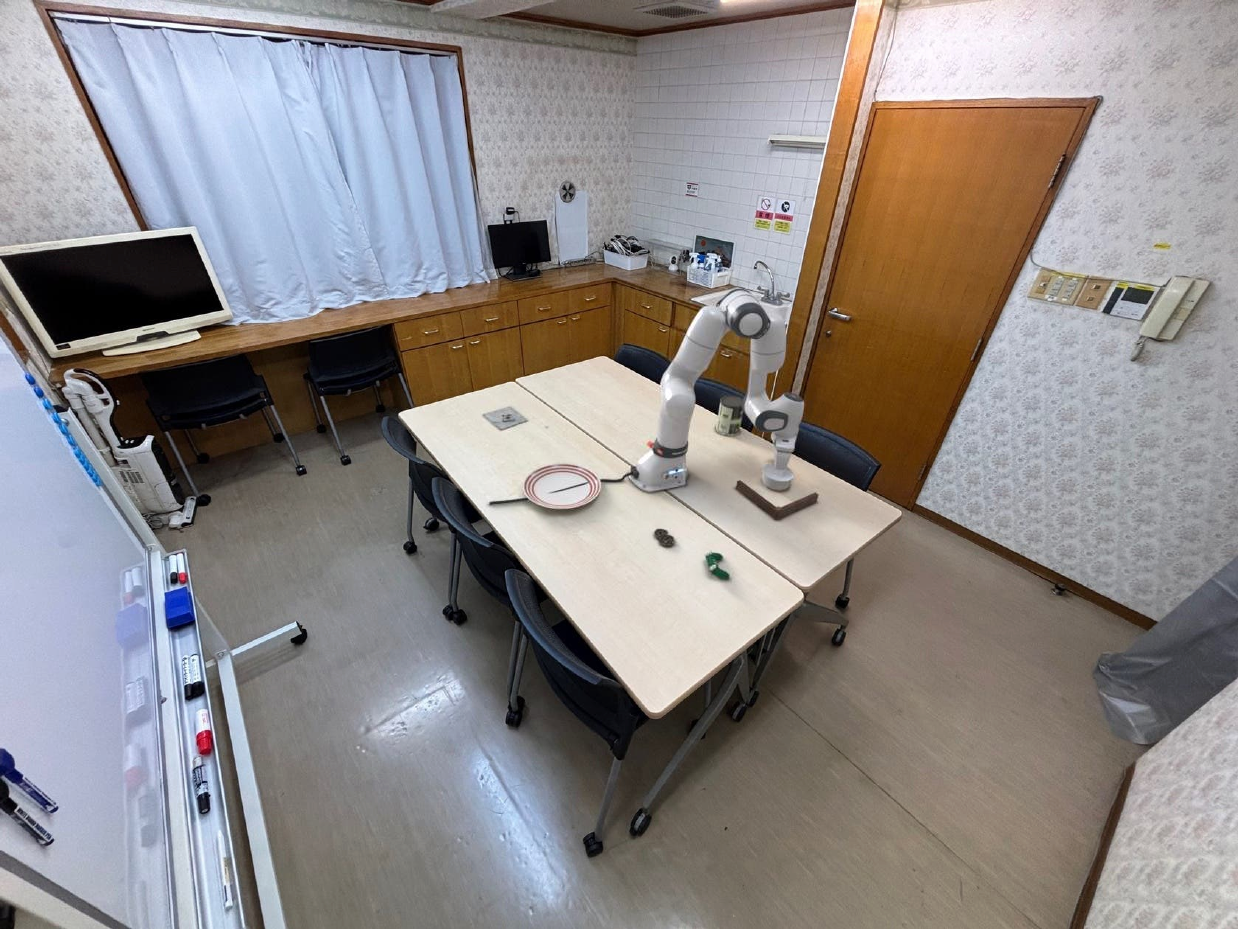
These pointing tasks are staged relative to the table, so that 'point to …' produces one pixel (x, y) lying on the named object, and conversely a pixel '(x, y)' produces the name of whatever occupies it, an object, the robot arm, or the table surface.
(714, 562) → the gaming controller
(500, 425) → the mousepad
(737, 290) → the robot arm
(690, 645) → the table surface
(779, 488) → the ramekin
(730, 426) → the coffee can
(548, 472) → the plate
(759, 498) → the corner guard
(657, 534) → the corroded twin loop
